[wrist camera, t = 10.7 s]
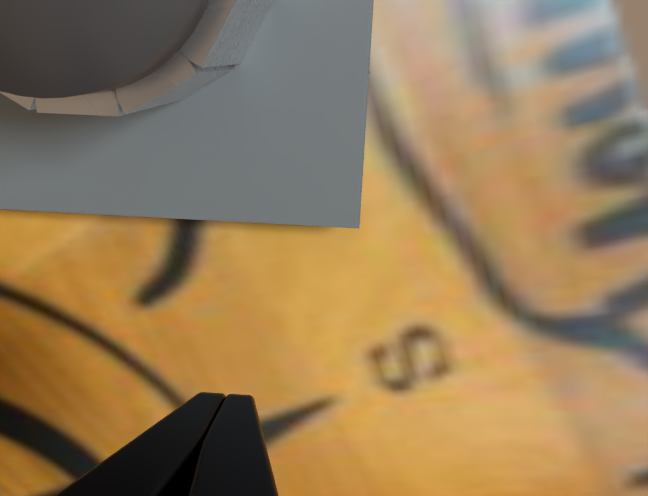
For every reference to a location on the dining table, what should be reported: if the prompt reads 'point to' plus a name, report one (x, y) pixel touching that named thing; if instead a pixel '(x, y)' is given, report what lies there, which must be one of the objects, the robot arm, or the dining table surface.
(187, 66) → the faceted ring
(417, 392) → the dining table surface
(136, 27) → the knob
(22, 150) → the mount plate
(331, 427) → the dining table surface
